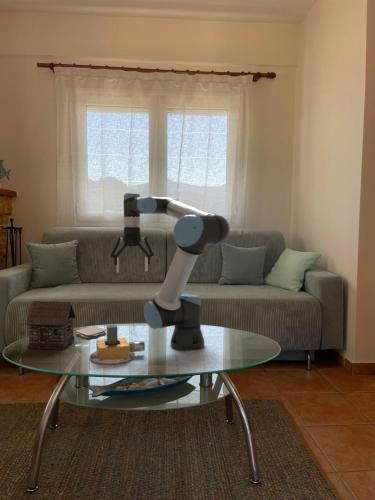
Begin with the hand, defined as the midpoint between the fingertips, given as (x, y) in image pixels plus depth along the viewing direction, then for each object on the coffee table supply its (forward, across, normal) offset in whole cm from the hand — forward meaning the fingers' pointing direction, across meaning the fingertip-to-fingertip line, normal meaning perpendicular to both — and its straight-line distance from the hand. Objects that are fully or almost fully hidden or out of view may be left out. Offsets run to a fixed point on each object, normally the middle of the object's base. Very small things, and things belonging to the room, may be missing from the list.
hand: (132, 271), depth 198 cm
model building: (+32, +36, +1) cm, 48 cm away
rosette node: (+32, +10, +25) cm, 42 cm away
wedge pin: (+31, +12, +25) cm, 42 cm away
